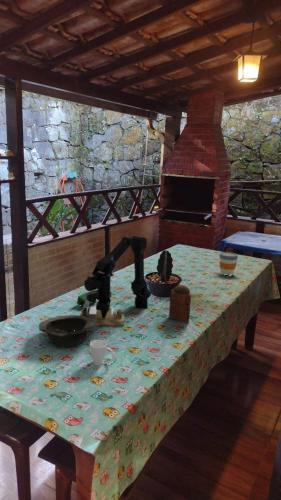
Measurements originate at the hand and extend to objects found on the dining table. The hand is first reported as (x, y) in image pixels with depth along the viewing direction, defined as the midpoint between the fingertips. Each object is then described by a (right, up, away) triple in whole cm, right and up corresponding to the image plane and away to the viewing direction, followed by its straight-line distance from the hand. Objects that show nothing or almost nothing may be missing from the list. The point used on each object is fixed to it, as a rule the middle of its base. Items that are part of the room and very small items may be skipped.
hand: (103, 316), depth 178 cm
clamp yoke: (-9, -3, 0) cm, 9 cm away
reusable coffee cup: (+80, +15, +85) cm, 117 cm away
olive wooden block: (0, 0, 0) cm, 0 cm away
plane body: (-1, -3, +1) cm, 3 cm away
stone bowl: (-15, -7, -16) cm, 23 cm away
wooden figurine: (+38, -3, +8) cm, 39 cm away
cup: (+3, -12, -35) cm, 37 cm away
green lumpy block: (-11, +2, +21) cm, 24 cm away
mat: (-2, 0, +12) cm, 13 cm away
